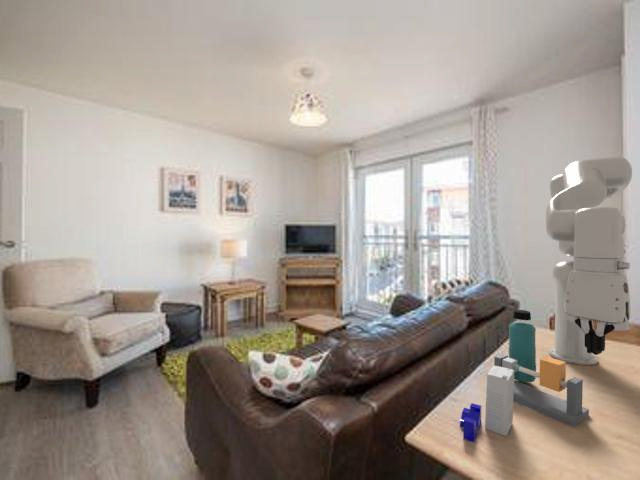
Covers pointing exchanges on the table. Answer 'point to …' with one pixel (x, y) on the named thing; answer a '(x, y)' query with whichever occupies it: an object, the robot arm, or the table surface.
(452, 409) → the table surface
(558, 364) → the orange rectangular block
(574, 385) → the rail
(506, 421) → the skincare box
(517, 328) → the beverage bottle
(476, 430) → the cable holder
